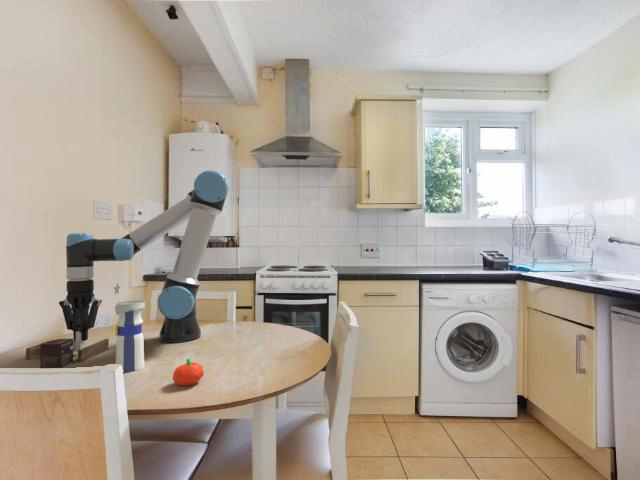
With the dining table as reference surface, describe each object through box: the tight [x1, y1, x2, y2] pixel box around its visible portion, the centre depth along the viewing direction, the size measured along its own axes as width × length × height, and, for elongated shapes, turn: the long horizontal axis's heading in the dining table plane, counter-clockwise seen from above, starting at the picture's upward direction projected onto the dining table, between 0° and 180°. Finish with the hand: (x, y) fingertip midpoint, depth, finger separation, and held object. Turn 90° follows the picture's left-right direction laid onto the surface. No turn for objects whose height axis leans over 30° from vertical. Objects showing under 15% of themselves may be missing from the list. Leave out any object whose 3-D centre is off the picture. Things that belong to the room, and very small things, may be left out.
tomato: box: [172, 358, 204, 386], centre depth 93 cm, size 7×8×6 cm
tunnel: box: [25, 338, 110, 363], centre depth 118 cm, size 20×14×4 cm
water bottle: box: [113, 282, 146, 373], centre depth 105 cm, size 8×9×25 cm
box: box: [39, 338, 74, 369], centre depth 108 cm, size 6×6×7 cm
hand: (80, 350), depth 118 cm, fingers closed
